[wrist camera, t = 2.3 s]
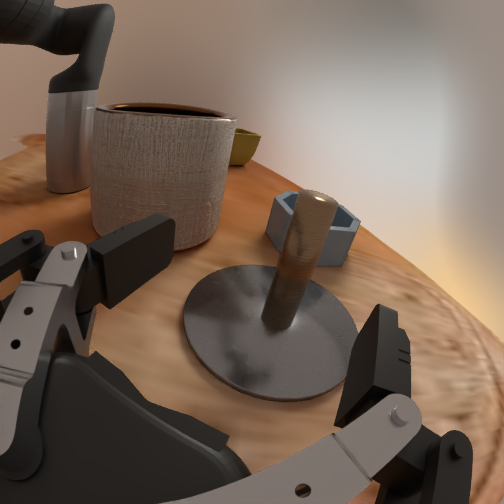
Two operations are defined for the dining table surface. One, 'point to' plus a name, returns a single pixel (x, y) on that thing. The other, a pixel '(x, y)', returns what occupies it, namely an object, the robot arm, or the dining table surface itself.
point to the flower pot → (243, 146)
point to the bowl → (336, 238)
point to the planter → (160, 167)
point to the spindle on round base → (275, 317)
